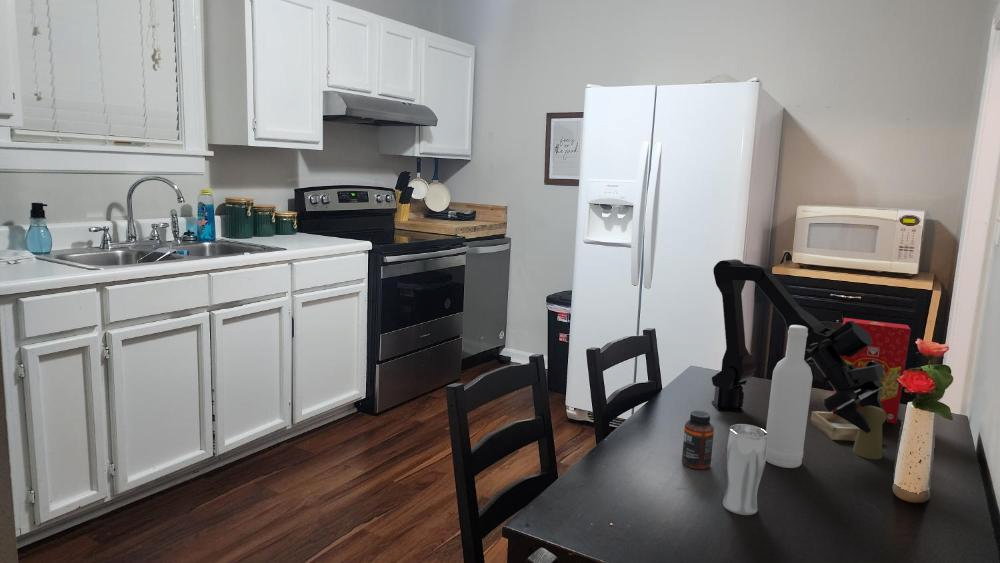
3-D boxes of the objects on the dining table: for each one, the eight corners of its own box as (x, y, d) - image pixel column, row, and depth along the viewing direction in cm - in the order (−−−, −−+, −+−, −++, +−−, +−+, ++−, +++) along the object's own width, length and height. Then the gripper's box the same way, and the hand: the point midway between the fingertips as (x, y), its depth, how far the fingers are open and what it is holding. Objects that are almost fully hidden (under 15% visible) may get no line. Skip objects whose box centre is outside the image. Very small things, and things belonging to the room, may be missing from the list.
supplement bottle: (712, 462, 144) (717, 412, 142) (708, 473, 139) (713, 420, 137) (683, 456, 146) (688, 406, 144) (678, 466, 141) (683, 415, 139)
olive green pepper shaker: (887, 460, 150) (895, 413, 148) (860, 458, 150) (867, 411, 148) (873, 449, 156) (880, 403, 154) (847, 447, 156) (853, 402, 154)
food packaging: (833, 413, 179) (845, 321, 175) (831, 407, 184) (843, 317, 180) (896, 423, 173) (910, 329, 169) (893, 417, 178) (907, 325, 174)
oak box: (831, 439, 160) (833, 427, 160) (810, 422, 171) (811, 411, 170) (877, 441, 160) (879, 429, 160) (853, 424, 171) (855, 413, 171)
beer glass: (755, 520, 120) (765, 441, 118) (716, 509, 124) (724, 431, 121) (763, 505, 126) (772, 429, 123) (725, 494, 129) (733, 420, 127)
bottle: (756, 459, 146) (772, 325, 141) (770, 449, 152) (786, 320, 147) (794, 472, 141) (811, 333, 136) (807, 461, 147) (824, 327, 142)
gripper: (844, 355, 146) (892, 419, 139) (879, 344, 158) (925, 403, 151) (804, 380, 153) (848, 442, 147) (840, 368, 165) (882, 425, 159)
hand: (877, 427), depth 151 cm, fingers open, 9 cm apart
